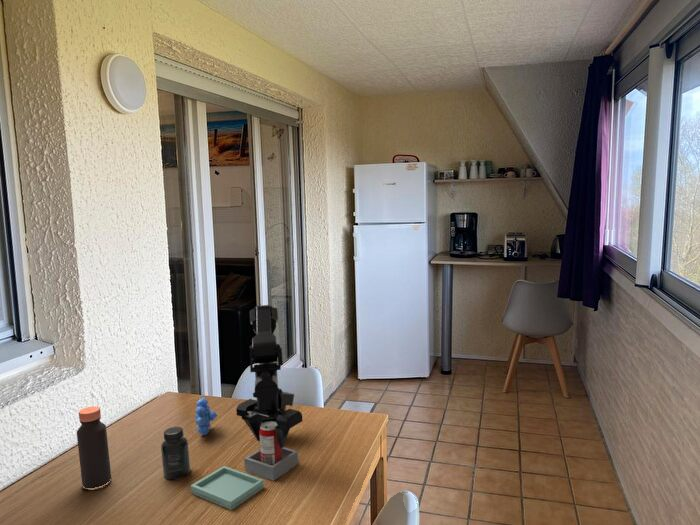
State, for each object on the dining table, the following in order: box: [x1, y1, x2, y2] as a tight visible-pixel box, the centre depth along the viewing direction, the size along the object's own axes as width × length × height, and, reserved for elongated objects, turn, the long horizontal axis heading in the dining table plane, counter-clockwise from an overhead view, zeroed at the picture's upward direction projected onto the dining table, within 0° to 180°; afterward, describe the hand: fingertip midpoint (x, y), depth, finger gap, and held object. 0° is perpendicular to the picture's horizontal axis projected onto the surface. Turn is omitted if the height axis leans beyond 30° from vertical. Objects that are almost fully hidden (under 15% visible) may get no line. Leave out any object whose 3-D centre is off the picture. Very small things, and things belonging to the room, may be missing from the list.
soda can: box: [259, 422, 282, 466], centre depth 141 cm, size 6×6×12 cm
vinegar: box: [76, 405, 112, 488], centre depth 135 cm, size 7×7×20 cm
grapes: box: [194, 397, 218, 436], centre depth 162 cm, size 12×7×12 cm, turn 8°
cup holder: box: [243, 446, 299, 482], centre depth 141 cm, size 10×10×4 cm
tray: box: [190, 465, 265, 510], centre depth 131 cm, size 14×11×2 cm
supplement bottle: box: [160, 426, 191, 480], centre depth 139 cm, size 7×7×12 cm
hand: (270, 443), depth 141 cm, fingers open, 8 cm apart
